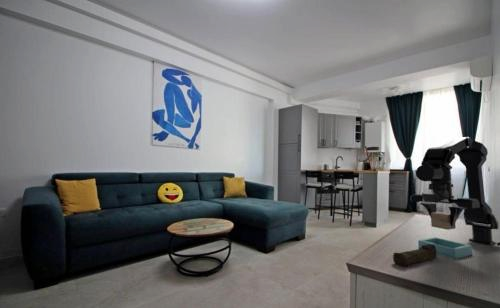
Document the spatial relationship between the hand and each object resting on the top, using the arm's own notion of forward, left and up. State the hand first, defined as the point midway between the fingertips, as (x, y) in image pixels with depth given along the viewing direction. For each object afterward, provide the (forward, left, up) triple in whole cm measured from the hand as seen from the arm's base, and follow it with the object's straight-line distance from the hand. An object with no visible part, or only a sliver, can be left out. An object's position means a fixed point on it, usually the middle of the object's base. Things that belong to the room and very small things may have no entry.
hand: (443, 224), depth 82 cm
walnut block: (0, 0, -1) cm, 1 cm away
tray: (0, 0, -9) cm, 9 cm away
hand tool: (+19, +1, -10) cm, 22 cm away
